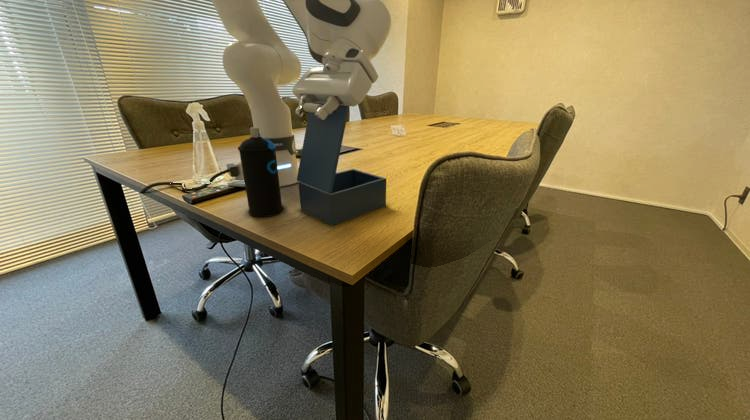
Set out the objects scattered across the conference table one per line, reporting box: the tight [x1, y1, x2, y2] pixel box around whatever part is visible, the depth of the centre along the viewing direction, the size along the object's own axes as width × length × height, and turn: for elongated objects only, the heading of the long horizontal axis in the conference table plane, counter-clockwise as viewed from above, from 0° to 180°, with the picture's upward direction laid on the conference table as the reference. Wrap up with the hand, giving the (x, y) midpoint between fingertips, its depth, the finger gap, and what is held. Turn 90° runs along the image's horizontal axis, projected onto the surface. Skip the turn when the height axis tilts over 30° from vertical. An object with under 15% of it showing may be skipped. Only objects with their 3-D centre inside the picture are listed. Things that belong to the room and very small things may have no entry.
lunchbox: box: [297, 168, 387, 227], centre depth 76 cm, size 18×13×7 cm
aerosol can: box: [237, 126, 284, 218], centre depth 71 cm, size 8×8×20 cm
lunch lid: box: [297, 103, 350, 193], centre depth 65 cm, size 18×13×5 cm
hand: (308, 116), depth 62 cm, fingers open, 6 cm apart
